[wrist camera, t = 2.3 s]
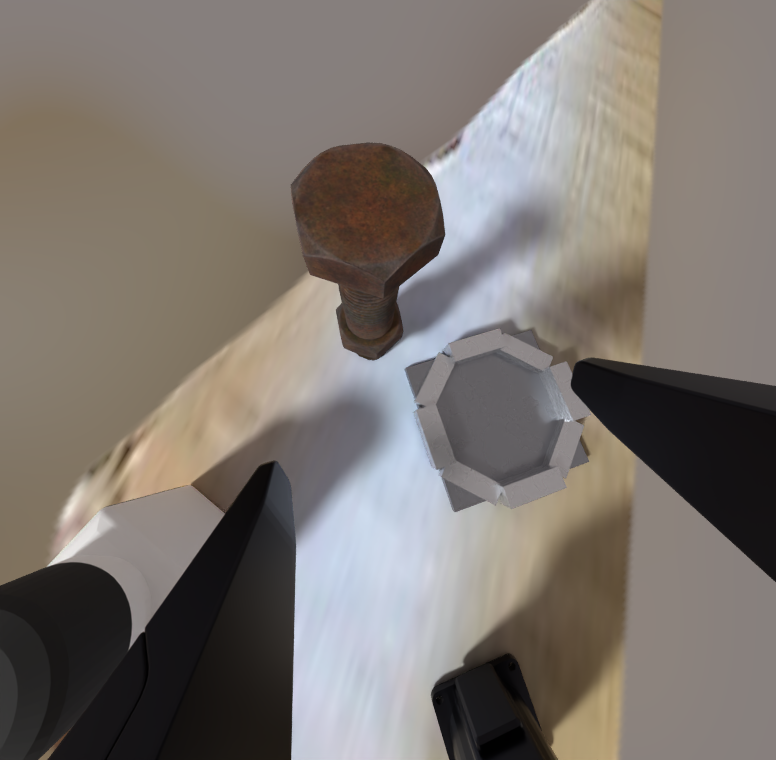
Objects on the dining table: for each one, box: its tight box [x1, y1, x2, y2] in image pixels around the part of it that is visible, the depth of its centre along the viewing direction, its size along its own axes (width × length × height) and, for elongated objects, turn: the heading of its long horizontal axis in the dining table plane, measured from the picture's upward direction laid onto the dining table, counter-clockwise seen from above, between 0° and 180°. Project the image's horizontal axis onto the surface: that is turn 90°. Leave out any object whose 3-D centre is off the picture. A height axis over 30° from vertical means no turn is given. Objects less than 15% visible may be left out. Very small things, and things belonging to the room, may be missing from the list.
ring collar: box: [405, 328, 591, 512], centre depth 22 cm, size 13×13×2 cm
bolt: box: [291, 143, 445, 360], centre depth 17 cm, size 6×5×15 cm
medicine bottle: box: [0, 485, 225, 760], centre depth 14 cm, size 7×7×12 cm
